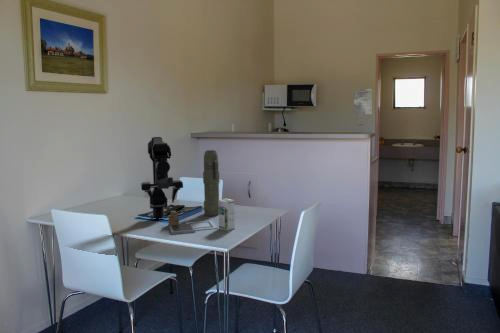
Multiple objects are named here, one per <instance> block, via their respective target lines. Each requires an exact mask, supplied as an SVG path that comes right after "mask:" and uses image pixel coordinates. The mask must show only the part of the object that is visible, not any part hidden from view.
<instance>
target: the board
mask: <svg viewBox="0 0 500 333" xmlns="http://www.w3.org/2000/svg"><path fill="white" fill-rule="evenodd" d="M184 224H192V225H193V227H194V229H195V232H197V231H206V230H215V229H217V230H218V229H219V226H217V225H216V223H215V222H214V221H213V220H211V219H210V220H201V221H200V220H199V221H191V222H184Z"/></svg>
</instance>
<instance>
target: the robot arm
mask: <svg viewBox="0 0 500 333" xmlns="http://www.w3.org/2000/svg"><path fill="white" fill-rule="evenodd" d="M147 154H148V155H149V158H150V160H151V161H152V180H153V183H151V182H150V181H147V182H146V181H143V182H141V183H140V188H141V191H144V193H147V195H148V197H149V209H152V216H153V218H156V219H159V218H162V217H163V216H165V212H164V209H165V208H167V207H168V198H167V196H166V193H165V192H164V190H165V189H166V190H168V189H170V188H171V187H172V193H171V194H172V195H171V202H172V204H173V203H174V202H175V198H176V195H177V193H178V191H180V190H181V189H183V188H184V182H183V181H182V180H181V179H180V180H179V179H177V180H176V179H175V180H174V178H173V177H171V176H169V171H170V169H171V166H170V163H169V162H168V159H171V157H172V151H171V147H170V145H169V144H168V143H167V142H164V140H163V138H162V137H161V136H153V137H151V140H149V142H148V143H147ZM156 219H152V221H157V220H156Z"/></svg>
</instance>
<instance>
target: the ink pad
mask: <svg viewBox="0 0 500 333" xmlns="http://www.w3.org/2000/svg"><path fill="white" fill-rule="evenodd" d="M168 229H169V230H170V234H171V235H178V234H189V233H196V231H195V229H194V227H193V225H192V224H185V223H183V224H179V225H170V226H168Z"/></svg>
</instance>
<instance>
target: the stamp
mask: <svg viewBox="0 0 500 333" xmlns="http://www.w3.org/2000/svg"><path fill="white" fill-rule="evenodd" d="M167 217H168V219H167V220H168V227H169V226H170V225H180V220H179V219H180V218H179V217H180V216H178V214H177V211H176V210H170V215H168V216H167Z"/></svg>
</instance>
